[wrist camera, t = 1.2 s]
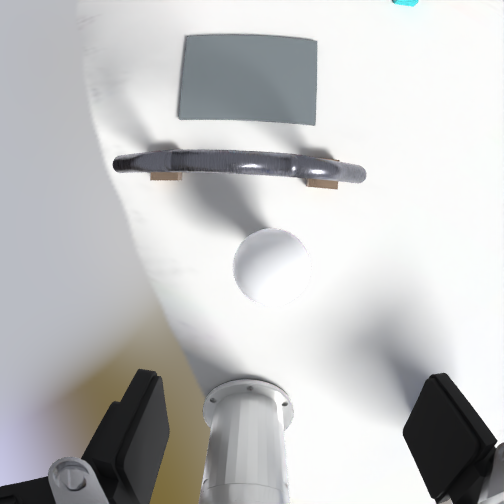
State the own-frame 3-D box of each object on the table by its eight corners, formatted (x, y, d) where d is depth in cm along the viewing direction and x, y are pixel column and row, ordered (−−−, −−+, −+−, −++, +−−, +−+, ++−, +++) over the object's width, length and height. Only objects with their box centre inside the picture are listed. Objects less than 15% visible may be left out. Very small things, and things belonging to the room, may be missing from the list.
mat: (314, 125, 29) (315, 124, 29) (180, 119, 29) (178, 119, 29) (316, 43, 27) (317, 41, 26) (188, 38, 27) (187, 36, 26)
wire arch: (333, 188, 31) (406, 206, 15) (155, 179, 31) (66, 191, 15) (335, 160, 30) (410, 152, 14) (156, 152, 30) (67, 139, 14)
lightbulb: (251, 206, 31) (248, 224, 21) (307, 228, 32) (331, 256, 21) (230, 261, 33) (218, 303, 22) (284, 281, 34) (296, 329, 23)
